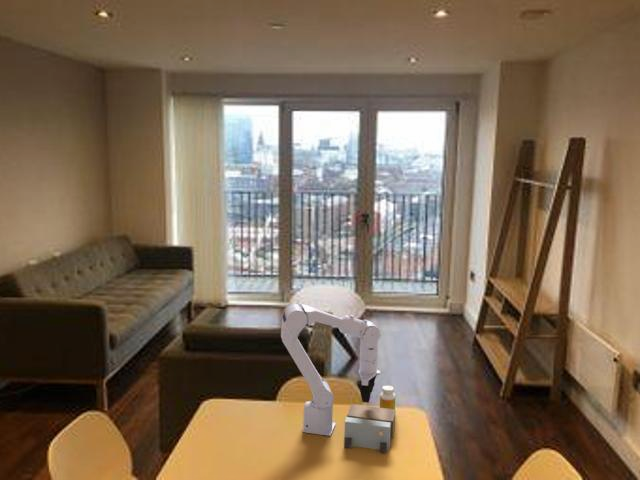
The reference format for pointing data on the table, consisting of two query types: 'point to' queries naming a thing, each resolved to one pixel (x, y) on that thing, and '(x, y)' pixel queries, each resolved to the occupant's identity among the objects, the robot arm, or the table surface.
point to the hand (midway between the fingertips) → (367, 396)
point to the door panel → (367, 432)
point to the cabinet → (372, 414)
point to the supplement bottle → (387, 397)
